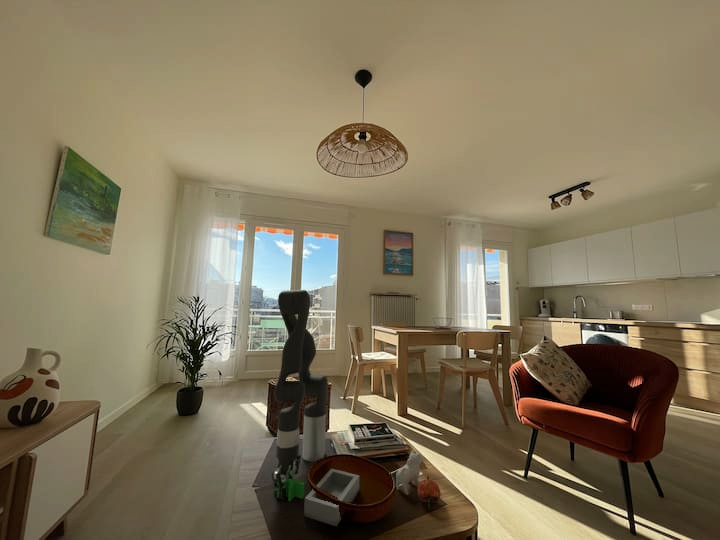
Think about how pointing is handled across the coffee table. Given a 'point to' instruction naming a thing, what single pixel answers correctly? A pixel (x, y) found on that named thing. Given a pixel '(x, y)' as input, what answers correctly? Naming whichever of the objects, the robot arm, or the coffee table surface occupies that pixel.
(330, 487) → the bin
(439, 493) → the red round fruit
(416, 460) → the dog figurine
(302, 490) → the pipe clamp
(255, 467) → the coffee table surface
